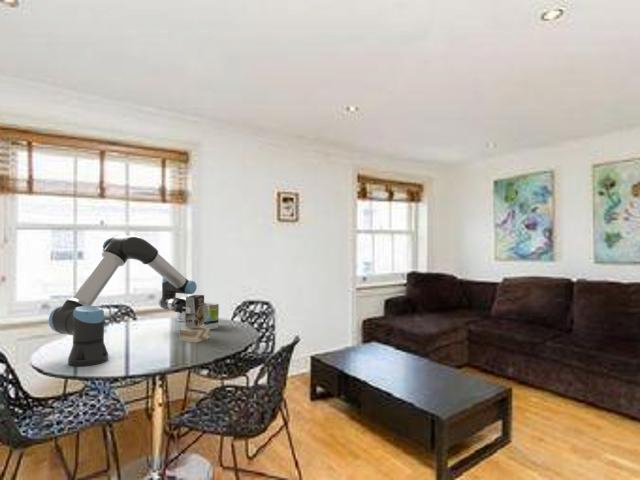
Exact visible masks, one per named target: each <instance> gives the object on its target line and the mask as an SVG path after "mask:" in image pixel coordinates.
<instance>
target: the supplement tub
mask: <svg viewBox="0 0 640 480" xmlns="http://www.w3.org/2000/svg"><path fill="white" fill-rule="evenodd" d="M186 297H187V296H185V297H179V298H180V299H184V300H185V301H186ZM176 319H177V321H178V322H180V323H182V322H184V323H186V313H185V312H182V313H180V312H176Z"/></svg>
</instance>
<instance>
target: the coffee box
mask: <svg viewBox="0 0 640 480" xmlns="http://www.w3.org/2000/svg"><path fill="white" fill-rule="evenodd" d="M185 297H186V307H188V308H191V311H190V313H186V322H185V328H187V327H192V328H196V327H199V326H201V325H203V324H204V302H205V295H204V294H203V295H202V294H191V295H189V296H185Z"/></svg>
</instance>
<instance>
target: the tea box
mask: <svg viewBox="0 0 640 480" xmlns="http://www.w3.org/2000/svg"><path fill="white" fill-rule="evenodd" d="M204 304H206V305H209V311H207V310H204V324H203V325H201V327H210V330H215V329H219V316H220V315H219V311H220V309H219V308H220V307H219V306H220V305H219V303H213V302H209V301H208V302H207V301H204Z"/></svg>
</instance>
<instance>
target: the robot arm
mask: <svg viewBox="0 0 640 480" xmlns="http://www.w3.org/2000/svg"><path fill="white" fill-rule="evenodd" d="M128 260H136V261H139V262H141V264H143V265H148V266H149V267H150V268H151V269H152V270H153V271H154V272H156V273H157V274H159V275H160V276H161V277H162V281H161V290H162V291H161V297H160V298H159V300H158V305H159V307H160V308H161V309H164V310H168V311H173V312H174V313H177V312H180V313H182V312H185V313H190V311H191V308H188V307H186V301H185V300H184V299H180V298H181V297H176V295H177V294H184V295H194V294H195V293H196V291H197V283H196V282H195V281H193V280H188V278H186V277H185V275H184V274H182V273H180V272H179V271H178V269H176V268H175V267H174V266H173V265H172V264H170V262H168V260H166V259H165V258H163V256H162V255H161V254H160V253H159V250H158V249H157V248H156V247H155V246H154V245H152V244H151V243H150V242H148V241H147V240H145V239H144V238H142V237H139V236H136V235H113V236H111V237H108V238H106V240H105V241H104V243H103V245H102V252H101V259H100V260H99V261H98V263H97V264H96V266H95V267H94V268H93V270H92V271H91V272H90V274H89V275H88V277H87V278H86V279H85V280H84V282H83V283H82V285H81V286H80V288H79V289H78V290H77V292H76V293H75V294H74V295H73V297H71V298H68V299H66V301H65V302H64V303H63V305H62V306H61V305H60V306H58V307H56V308H54V309H53V310H52V311H51V312H50V314H49V317H48V325H49V327H50V329H51V330H52V331H54V332H55V333H59V334H62V335H70V336H73V337H72V340H73V341H72V347H71V350H70V353H69V356H68V359H67V361H68V362H67V364H68V365H69V366H72V367H88V366H94V365H95V366H96V365H99V364H102V363H104V362H107V361H108V360H109V353H108V350H107V348H106V344H105V341H104V340H105V312H104V308H102V307H100V306H95V305H93V304H94V303H95V301H96V300H97V299H98V297H99V295H100V294H101V293H102V291H103V290H104V288H105V287H106V286H107V284H108V283H109V281H110V280H111V279H112V277H113V276H114V274H115V273H116V271H117V270H118V268H119V267H122V266H124V265H125V263H127V261H128ZM204 310H207V311H209V305H206V304H204Z"/></svg>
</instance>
